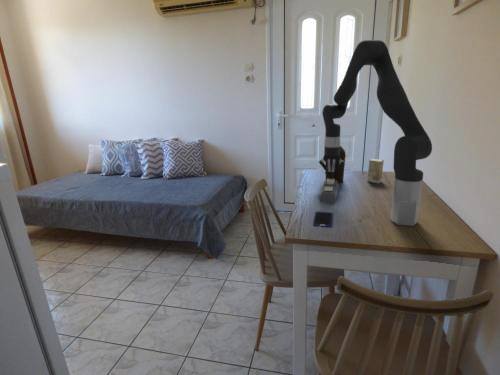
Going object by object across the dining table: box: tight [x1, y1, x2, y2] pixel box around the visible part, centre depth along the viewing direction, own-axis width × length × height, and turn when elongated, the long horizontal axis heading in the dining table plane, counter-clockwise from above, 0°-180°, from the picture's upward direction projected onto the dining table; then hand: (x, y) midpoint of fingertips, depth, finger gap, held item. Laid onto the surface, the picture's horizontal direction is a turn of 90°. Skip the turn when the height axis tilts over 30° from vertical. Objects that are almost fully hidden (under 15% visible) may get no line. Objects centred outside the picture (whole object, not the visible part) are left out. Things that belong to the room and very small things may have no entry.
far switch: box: [327, 178, 335, 184], centre depth 154 cm, size 5×4×1 cm
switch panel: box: [319, 179, 339, 203], centre depth 149 cm, size 22×7×4 cm, turn 161°
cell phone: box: [312, 211, 334, 228], centre depth 122 cm, size 7×14×1 cm, turn 164°
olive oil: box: [324, 145, 346, 185], centre depth 164 cm, size 11×11×25 cm
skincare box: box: [366, 158, 384, 184], centre depth 163 cm, size 6×4×12 cm
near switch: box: [324, 186, 333, 191], centre depth 143 cm, size 5×4×1 cm
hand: (330, 178), depth 156 cm, fingers closed
